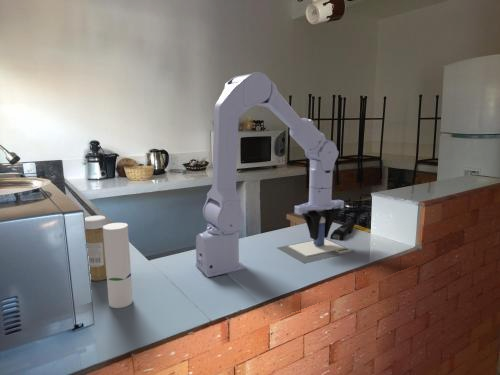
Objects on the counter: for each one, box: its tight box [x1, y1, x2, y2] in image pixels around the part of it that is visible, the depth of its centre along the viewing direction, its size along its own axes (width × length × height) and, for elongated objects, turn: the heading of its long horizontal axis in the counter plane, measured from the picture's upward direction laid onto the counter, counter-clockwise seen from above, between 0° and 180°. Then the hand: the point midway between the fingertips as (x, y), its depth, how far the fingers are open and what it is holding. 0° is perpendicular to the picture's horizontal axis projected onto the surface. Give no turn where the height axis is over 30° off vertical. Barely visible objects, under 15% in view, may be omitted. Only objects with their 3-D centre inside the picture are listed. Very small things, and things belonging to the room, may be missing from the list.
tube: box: [103, 222, 134, 309], centre depth 71 cm, size 4×4×15 cm
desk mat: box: [276, 238, 356, 264], centre depth 99 cm, size 16×12×1 cm
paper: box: [287, 238, 345, 257], centre depth 100 cm, size 12×8×1 cm, turn 119°
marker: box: [313, 217, 326, 246], centre depth 100 cm, size 3×3×7 cm
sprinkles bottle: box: [85, 215, 107, 282], centre depth 82 cm, size 5×5×14 cm
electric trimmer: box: [329, 218, 355, 242], centre depth 113 cm, size 4×16×3 cm, turn 149°
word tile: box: [334, 246, 353, 254], centre depth 98 cm, size 4×2×1 cm, turn 118°
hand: (318, 237), depth 101 cm, fingers closed on marker, 3 cm apart
